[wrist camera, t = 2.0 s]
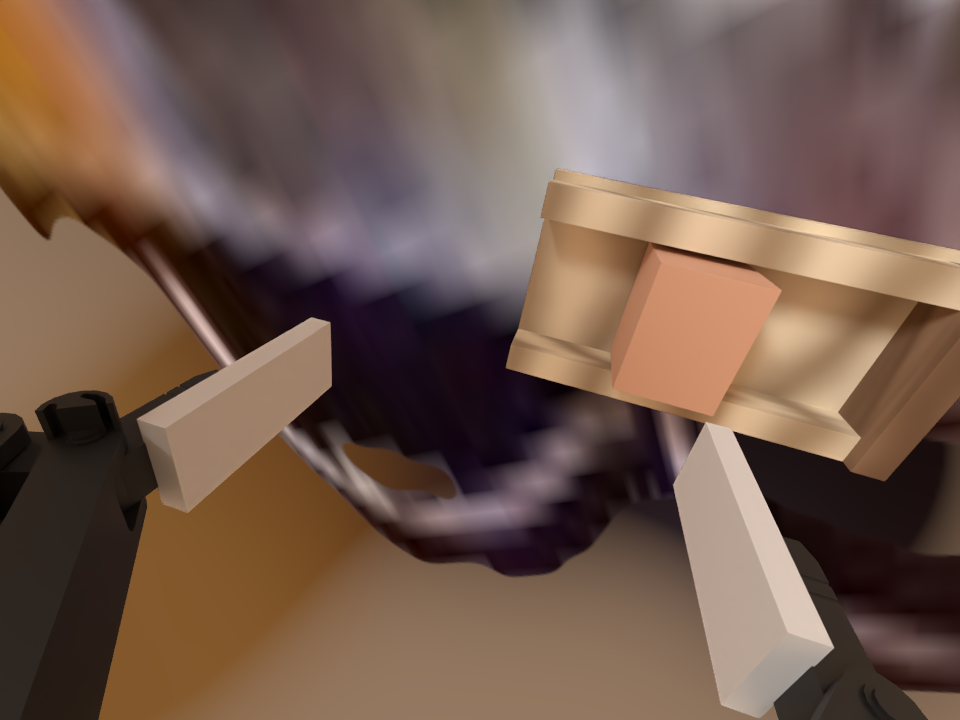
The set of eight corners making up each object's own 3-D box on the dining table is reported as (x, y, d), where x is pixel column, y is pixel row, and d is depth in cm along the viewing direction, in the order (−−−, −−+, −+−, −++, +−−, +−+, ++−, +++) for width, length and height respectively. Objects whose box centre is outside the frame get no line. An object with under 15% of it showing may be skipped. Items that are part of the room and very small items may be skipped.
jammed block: (610, 348, 31) (612, 388, 26) (649, 241, 27) (661, 262, 22) (693, 370, 30) (712, 416, 25) (746, 262, 26) (782, 290, 21)
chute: (514, 351, 35) (501, 381, 30) (557, 168, 28) (549, 172, 23) (838, 438, 31) (878, 488, 27) (978, 254, 24) (1064, 278, 20)
